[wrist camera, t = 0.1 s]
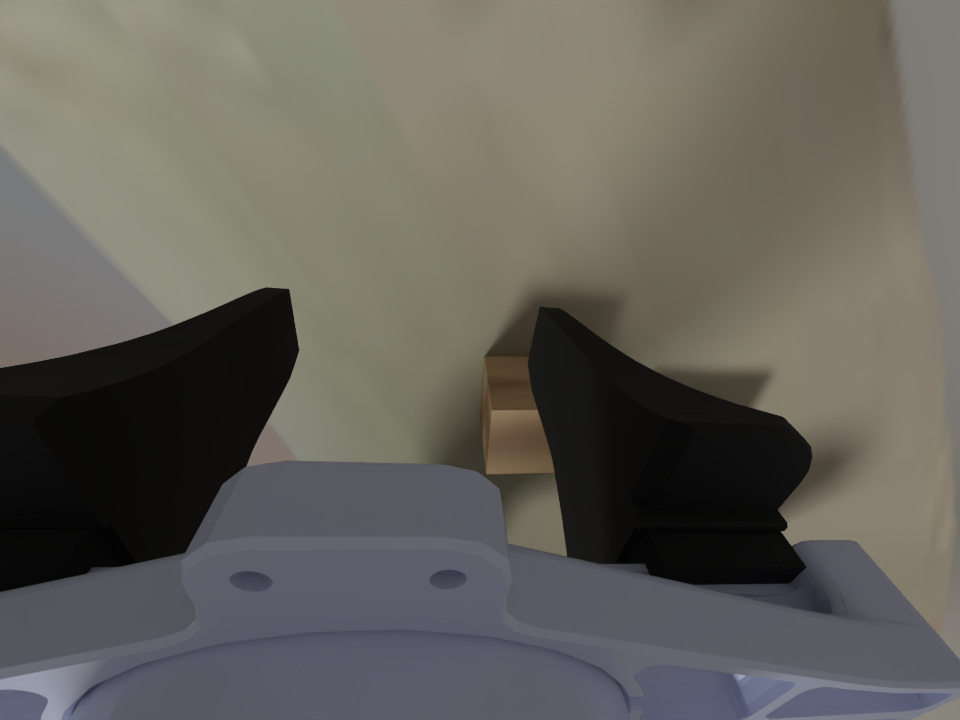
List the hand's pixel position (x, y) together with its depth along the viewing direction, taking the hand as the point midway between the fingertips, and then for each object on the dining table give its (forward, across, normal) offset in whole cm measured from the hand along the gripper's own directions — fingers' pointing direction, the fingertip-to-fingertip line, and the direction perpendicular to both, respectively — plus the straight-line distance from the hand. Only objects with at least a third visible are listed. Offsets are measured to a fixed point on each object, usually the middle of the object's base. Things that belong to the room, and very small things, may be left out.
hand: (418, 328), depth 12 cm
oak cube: (+10, -6, +10) cm, 16 cm away
